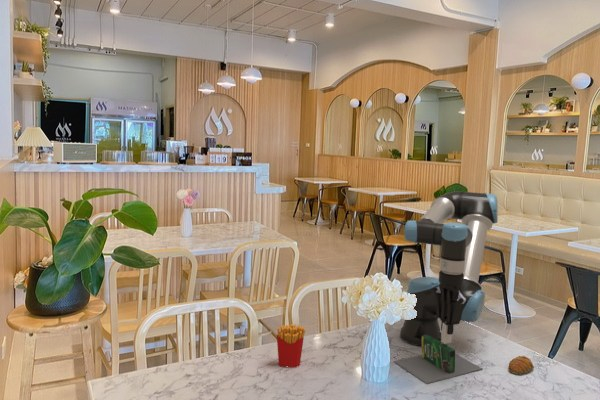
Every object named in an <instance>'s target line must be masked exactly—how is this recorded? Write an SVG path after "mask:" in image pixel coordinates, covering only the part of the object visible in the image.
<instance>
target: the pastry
mask: <svg viewBox="0 0 600 400" xmlns="http://www.w3.org/2000/svg"><path fill="white" fill-rule="evenodd" d="M534 368H535V366H534V364H533V362H532V359H530V358H529V357H528V356H525V355H522V356H521V355H518V356H516V357H515V358H514V357H513V358H512V359H511V360H510V361H509V363H508V372H510V373H513V374H515V375H519V376H520V375H526V374H529V373H530V372H532V371H533V370H534Z"/></svg>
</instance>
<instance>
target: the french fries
mask: <svg viewBox="0 0 600 400" xmlns="http://www.w3.org/2000/svg"><path fill="white" fill-rule="evenodd" d="M276 329H277V335H276V344H277V345H276V346H277V356H278V357H277V358H278V359H277V360H278V366H279V365H280V366H279V367H281V366H282V367H281V368H286V367H285V366H288V367H287V368H298V367H300V366H299V365H301V360H302V359H301V358H302V352H303V346H304V340H305V339H304V335H305V333H306V327H305V326H301V325H300V324H299V325H298V324H295V323H294V324H292V323H290V325H287V324H283V325H281V326H277V328H276ZM297 366H298V367H297Z"/></svg>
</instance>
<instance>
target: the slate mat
mask: <svg viewBox="0 0 600 400" xmlns="http://www.w3.org/2000/svg"><path fill="white" fill-rule="evenodd" d="M393 362H394V363H395V364H396V365H397V366H399V367H400V368H402V369H403V370H404V371H406V372H408V373H410V374H411V375H412V376H413V377H415V378H417V379H418V380H419V381H420V382H422V383H424V384H425V385H429V384H433V383H437V382H441V381H445V380H448V379H452V378H453V379H454V378H456V377H459V376H460V377H461V376H464V375H468V374H472V373H475V372H476V373H477V372H479V371H483V370H484V369H483V368H482V367H481V366H479V365H477V364H475V363H473V362H471V361H469V360H468V359H466V358H464V357H463V356H460V355H459V354H457V353H455V372H452V373H447V372H446V371H444V370H442V369H441V368H439V367H437V366H436V365H434V364H432V363H431V362H429V361H427V360H426V359H424V358H422V354H419V355H415V356H411V357H407V358H401V359H396V360H393Z"/></svg>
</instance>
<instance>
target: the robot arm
mask: <svg viewBox="0 0 600 400" xmlns="http://www.w3.org/2000/svg"><path fill="white" fill-rule="evenodd" d="M498 214H499V213H498V197H497V195H496V194H494V193H487V192H484V193H482V192H481V193H480V192H471V191H460V190H459V191H458V190H457V191H456V190H455V191H449V192H445V193H444V194H442V195H439V196H438V197H436V198H435V199H434V200H433V201H432V202H431V204H430V207H429V209H427V211H426V212H425V213H424V214H423V215H422V216H421V217H420V218H419V219H418V220H416V219H415V220H407V222H406V223H405V226H404V230H403V232H404V233H403V236H404V240H406V241H407V242H412V243H414V244H426V245H431V246H432V245H433V246H434V245H435V246H441V247H440V257H439V258H440V260H439V271H438V273H439V274H438V278H437V277H434V276H422V277H421V276H420V277H416V278H412V279H410V281H409V282H408V284H407V285H408V286H407V293H406V294H408V293H410V294H415V295H416V298H417V303H416V306H415V307H414V309H415V310H416V311H417V316H416V318H414V319H411V320H405V319H404V322H403V324H402V327H401V328H400V335H399V336H400V338H401V340H402V341H404V342H405V343H408V344H411V345H415V346H418V347H419V346H420V347H422V336H424V335H429V336H431V337H433V338H435V339H437V340H438V341H440V342H442V343H444V344H446V345H447V344H451V343H452V335H453V334H454V330H455V329H454V327H455V325H459V324H460V322H469V323H475V322H476V321H478V319H480V316H481V313H482V311H483V308H484V303H485V298H486V294H485V291H483V290H482V285H481V284H480V283H479V280H480V279H479V278H480V274H481V268H482V264H483V263H482V262H483V257H484V251H485V247H486V246H485V245H486V239H487V236H488V235H487V234H488V231H489V230H491V229H492V227H493V224H495V225H496V224H497V223H498V220H499V219H498V218H499V217H498V216H499V215H498ZM450 219H453V220H461V222H446V221H448V220H450ZM439 319H440V322H441V324H439Z"/></svg>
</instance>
